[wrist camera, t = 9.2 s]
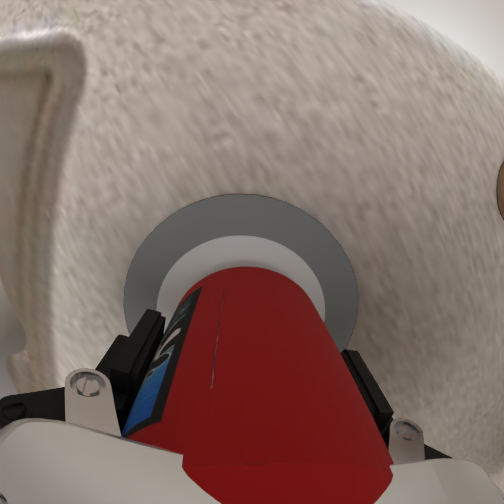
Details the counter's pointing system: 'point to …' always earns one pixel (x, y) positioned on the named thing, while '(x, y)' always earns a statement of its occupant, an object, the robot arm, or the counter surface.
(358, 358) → the robot arm
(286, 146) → the counter surface
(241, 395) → the beverage can
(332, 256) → the pad
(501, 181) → the stand post
